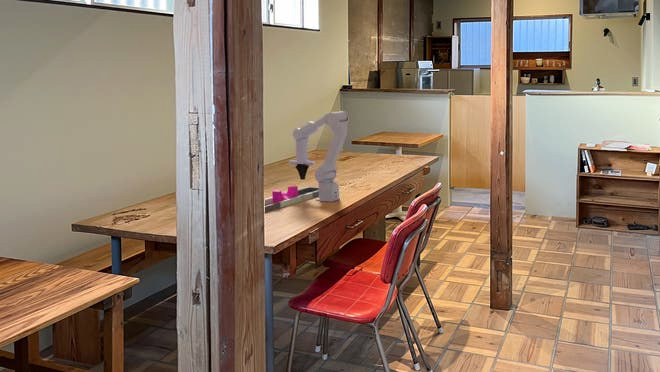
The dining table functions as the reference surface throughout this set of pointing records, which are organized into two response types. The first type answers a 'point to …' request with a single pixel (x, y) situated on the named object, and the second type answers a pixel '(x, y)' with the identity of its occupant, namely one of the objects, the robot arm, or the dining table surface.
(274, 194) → the toy block
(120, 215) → the dining table surface
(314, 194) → the long grey tray strip
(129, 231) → the dining table surface
